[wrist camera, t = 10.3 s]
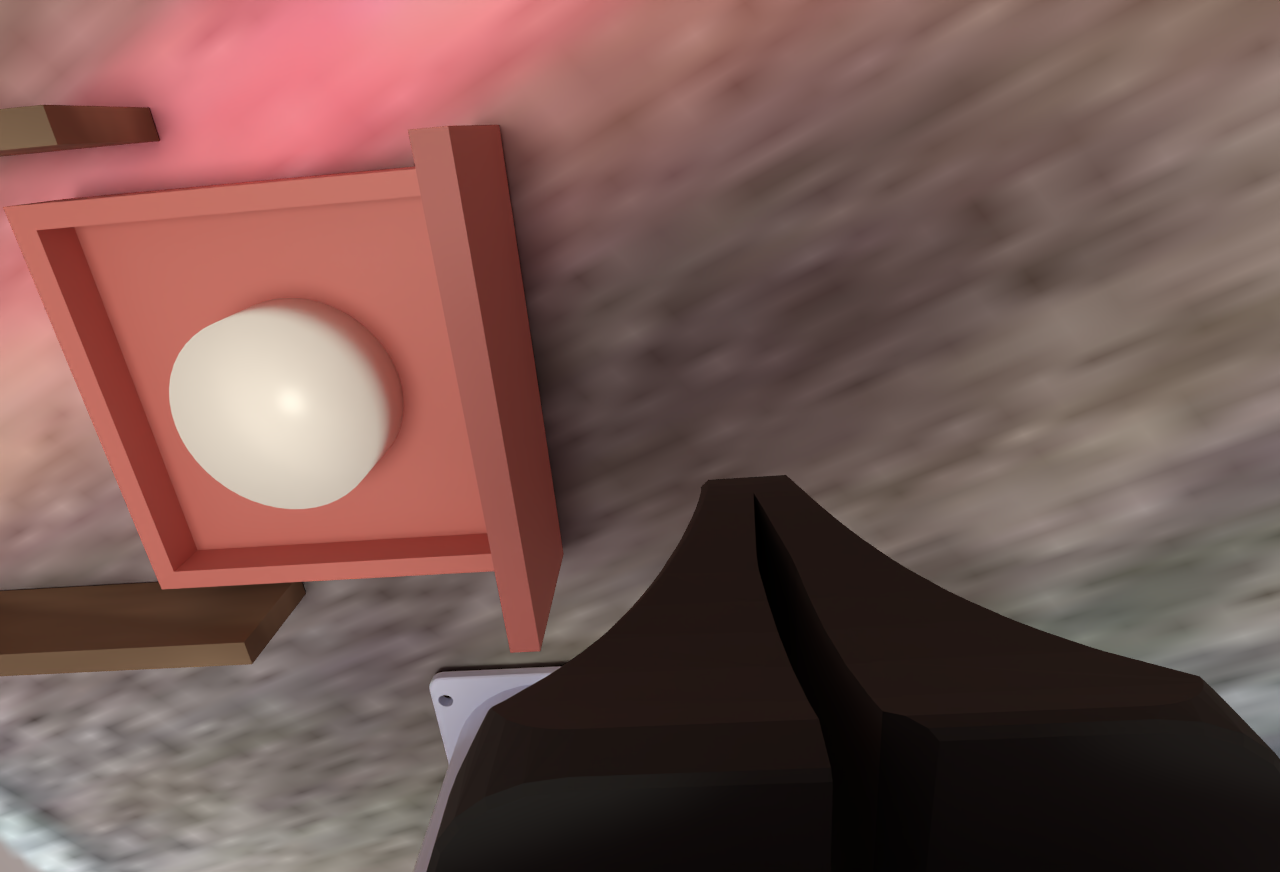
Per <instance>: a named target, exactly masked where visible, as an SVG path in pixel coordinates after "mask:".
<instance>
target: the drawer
mask: <svg viewBox="0 0 1280 872" xmlns="http://www.w3.org/2000/svg"><path fill="white" fill-rule="evenodd" d="M408 133H409V138H410V143H411V148H412V153H413V158H414V164H415V167H406V168H395V169H384V170H374V171H363V172H352V173H341V174H330V175H320V176H309V177H298V178H287V179H276V180H266V181H255V182H244V183H233V184H222V185H212V186H201V187H190V188H179V189H168V190H158V191H147V192H136V193H125V194H114V195H104V196H93V197H82V198H71V199H62V200H54V201H46V202H39V203H31V204H23V205H15V206H8V207H3V208H4V211H5V213H6V215H7V218H8V220H9V223H10V225H11V227H12V230H13V232H14V235H15V237H16V240H17V242H18V244H19V247H20V249H21V252H22V254H23V256H24V259H25V261H26V264H27V266H28V268H29V271H30V273H31V276H32V278H33V280H34V283H35V285H36V288H37V290H38V293H39V295H40V297H41V300H42V302H43V305H44V307H45V309H46V312H47V314H48V317H49V319H50V321H51V324H52V326H53V329H54V331H55V333H56V336H57V338H58V341H59V343H60V346H61V348H62V350H63V353H64V355H65V358H66V360H67V362H68V365H69V367H70V370H71V372H72V374H73V377H74V379H75V382H76V384H77V386H78V389H79V391H80V394H81V396H82V399H83V401H84V403H85V406H86V408H87V411H88V413H89V415H90V418H91V420H92V423H93V425H94V427H95V430H96V432H97V435H98V437H99V439H100V442H101V444H102V447H103V449H104V452H105V454H106V456H107V459H108V461H109V464H110V466H111V468H112V471H113V473H114V476H115V478H116V480H117V483H118V485H119V488H120V490H121V492H122V495H123V497H124V500H125V502H126V505H127V507H128V509H129V512H130V514H131V517H132V519H133V521H134V524H135V526H136V529H137V531H138V533H139V536H140V538H141V541H142V543H143V545H144V548H145V550H146V553H147V555H148V558H149V560H150V562H151V565H152V567H153V570H154V572H155V574H156V577H157V579H158V582H159V584H160V586H161V589H179V588H197V587H215V586H233V585H251V584H269V583H287V582H306V581H324V580H342V579H360V578H378V577H396V576H414V575H432V574H450V573H468V572H487V571H495V576H496V581H497V586H498V591H499V597H500V602H501V607H502V612H503V617H504V622H505V627H506V632H507V637H508V642H509V647H510V653H513V652H533V651H540V650H541V646H542V642H543V638H544V634H545V629H546V625H547V621H548V617H549V613H550V608H551V604H552V600H553V596H554V592H555V587H556V583H557V579H558V575H559V571H560V566H561V562H562V558H563V548H562V541H561V534H560V528H559V521H558V514H557V508H556V501H555V494H554V488H553V481H552V474H551V468H550V461H549V454H548V448H547V441H546V435H545V428H544V421H543V415H542V408H541V401H540V395H539V388H538V381H537V375H536V368H535V361H534V355H533V348H532V341H531V335H530V328H529V321H528V315H527V308H526V301H525V295H524V288H523V282H522V275H521V268H520V262H519V255H518V248H517V242H516V235H515V228H514V222H513V215H512V208H511V202H510V195H509V188H508V182H507V175H506V168H505V162H504V155H503V149H502V142H501V135H500V129H499V125H469V126H442V127H432V128H421V129H411V130H408ZM278 298H301V299H309V300H313V301H317V302H321V303H324V304H327V305H329V306H332V307H334V308H336V309H338V310H340V311H342V312H344V313H346V314H348V315H349V316H351V317H352V318H354V319H355V320H357V321H358V322H359V323H361V324H362V325H363V326H364V327H366V328H367V329H368V330H369V331H370V332H371V333H372V334H373V335H374V336H375V337H376V338H377V339H378V341H379V342H380V343H381V345H382V346H383V347H384V348H385V350H386V351H387V353H388V355H389V356H390V358H391V360H392V362H393V364H394V366H395V368H396V370H397V373H398V376H399V379H400V382H401V387H402V393H403V416H402V421H401V425H400V429H399V431H398V434H397V436H396V438H395V440H394V442H393V443H392V445H391V446H390V448H389V449H388V450H387V451H386V453H385V454H384V455H383V456H382V457H381V458H380V460H379V461H378V462H377V463H376V464H375V466H374V467H373V468H372V469H371V470H370V471H369V473H368V474H367V475H366V476H365V477H364V478H363V480H362V481H361V482H360V483H359V484H358V485H357V486H356V487H355V488H354V489H353V490H352V491H350V492H349V493H348V494H347V495H345V496H343V497H342V498H340V499H338V500H336V501H334V502H331V503H329V504H327V505H323V506H319V507H315V508H307V509H284V508H276V507H272V506H267V505H263V504H260V503H257V502H254V501H251V500H249V499H247V498H245V497H242V496H240V495H238V494H236V493H235V492H233V491H231V490H230V489H228V488H226V487H225V486H224V485H222V484H221V483H219V482H218V481H217V480H215V479H214V478H213V477H212V476H211V475H210V474H208V473H207V472H206V471H205V470H204V469H203V468H202V467H201V466H200V464H199V463H198V462H197V461H196V460H195V459H194V457H193V456H192V455H191V453H190V452H189V451H188V449H187V448H186V446H185V444H184V443H183V441H182V439H181V437H180V435H179V433H178V431H177V428H176V426H175V423H174V420H173V416H172V413H171V407H170V401H169V384H170V376H171V372H172V369H173V365H174V363H175V361H176V359H177V356H178V354H179V353H180V351H181V350H182V348H183V347H184V346H185V344H186V343H187V342H188V341H189V340H190V339H191V338H192V337H193V336H194V335H195V334H197V333H198V332H199V331H201V330H202V329H204V328H205V327H207V326H209V325H211V324H213V323H215V322H218V321H220V320H222V319H224V318H227V317H229V316H231V315H233V314H235V313H238V312H240V311H242V310H244V309H247V308H249V307H251V306H253V305H256V304H258V303H261V302H264V301H268V300H272V299H278Z"/></svg>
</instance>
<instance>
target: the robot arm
mask: <svg viewBox="0 0 1280 872" xmlns="http://www.w3.org/2000/svg"><path fill="white" fill-rule="evenodd" d="M429 686H430V693H431V697H432V701H433V705H434V709H435V713H436V717H437V720H438V724H439V728H440V732H441V736H442V740H443V744H444V748H445V752H446V755H447V759H448V763H449V766H448V769H447V772H446V775H445V778H444V781H443V784H442V787H441V790H440V793H439V796H438V799H437V802H436V805H435V808H434V811H433V814H432V816H431V819H430V822H429V825H428V828H427V831H426V834H425V837H424V840H423V843H422V846H421V849H420V852H419V855H418V858H417V861H416V864H415V867H414V870H413V872H1280V759H1279V758H1278V756H1277V755H1276V754H1275V753H1274V752H1273V750H1272V749H1271V748H1270V747H1269V746H1268V745H1267V744H1266V743H1265V742H1264V741H1263V740H1262V739H1261V738H1260V737H1259V736H1258V735H1257V734H1256V733H1255V732H1254V731H1253V730H1252V729H1251V728H1250V726H1249V725H1248V724H1247V723H1246V722H1245V721H1244V720H1243V719H1242V718H1241V717H1240V716H1239V715H1238V714H1237V713H1236V712H1235V711H1234V710H1233V709H1232V708H1231V707H1230V706H1229V705H1228V704H1227V703H1226V702H1225V701H1224V700H1223V699H1222V698H1221V697H1220V696H1219V695H1218V694H1217V693H1216V692H1215V690H1214V689H1212V688H1211V687H1210V686H1209V685H1208V684H1207V683H1206V682H1205V681H1204V680H1203V679H1202V678H1201V677H1200V676H1196V675H1192V674H1188V673H1184V672H1181V671H1177V670H1173V669H1169V668H1165V667H1162V666H1158V665H1154V664H1150V663H1146V662H1143V661H1139V660H1135V659H1131V658H1127V657H1124V656H1120V655H1116V654H1112V653H1108V652H1105V651H1101V650H1098V649H1095V648H1091V647H1088V646H1085V645H1082V644H1079V643H1076V642H1073V641H1070V640H1067V639H1064V638H1061V637H1059V636H1056V635H1053V634H1050V633H1047V632H1044V631H1041V630H1038V629H1035V628H1033V627H1030V626H1028V625H1025V624H1022V623H1020V622H1017V621H1014V620H1012V619H1009V618H1007V617H1004V616H1002V615H1000V614H998V613H995V612H993V611H991V610H988V609H986V608H984V607H982V606H979V605H977V604H975V603H972V602H970V601H968V600H966V599H963V598H961V597H959V596H957V595H955V594H953V593H951V592H949V591H947V590H945V589H943V588H941V587H939V586H938V585H936V584H934V583H932V582H930V581H929V580H927V579H925V578H923V577H921V576H919V575H918V574H916V573H914V572H912V571H910V570H909V569H907V568H905V567H904V566H902V565H900V564H899V563H897V562H895V561H894V560H892V559H891V558H889V557H888V556H886V555H885V554H883V553H882V552H880V551H879V550H877V549H876V548H875V547H873V546H872V545H870V544H869V543H867V542H866V541H864V540H863V539H862V538H860V537H859V536H858V535H856V534H855V533H853V532H852V531H851V530H849V529H848V528H847V527H846V526H844V525H843V524H842V523H841V522H839V521H838V520H837V519H836V518H834V517H833V516H832V515H831V514H829V513H828V512H827V511H826V510H825V509H824V508H822V507H821V506H820V505H819V504H818V503H817V502H815V501H814V500H813V499H812V498H811V497H810V496H809V495H808V494H807V493H805V492H804V491H803V490H802V489H801V488H800V487H799V486H798V485H796V484H795V483H794V482H793V481H792V480H791V479H790V478H789V477H787V476H786V475H781V476H765V477H749V478H733V479H716V480H708V481H707V482H706V483H705V484H704V485H703V486H702V487H701V495H700V498H699V502H698V504H697V507H696V510H695V512H694V514H693V517H692V519H691V521H690V523H689V525H688V527H687V529H686V531H685V533H684V535H683V537H682V539H681V540H680V542H679V544H678V546H677V547H676V549H675V550H674V552H673V554H672V555H671V557H670V558H669V560H668V561H667V563H666V564H665V566H664V568H663V569H662V571H661V572H660V573H659V575H658V576H657V577H656V579H655V580H654V581H653V583H652V584H651V585H650V587H649V588H648V589H647V590H646V592H645V593H644V594H643V595H642V596H641V597H640V599H639V600H638V601H637V602H636V603H635V604H634V606H633V607H632V608H631V609H630V610H629V611H628V612H627V613H626V614H625V615H624V616H623V617H622V618H621V619H620V620H619V621H618V622H617V623H616V624H615V625H614V626H613V627H612V628H611V629H610V630H609V631H608V632H607V633H605V634H604V635H603V636H602V637H601V638H600V639H598V640H597V641H596V642H595V643H593V644H592V645H591V646H589V647H588V648H587V649H586V650H584V651H583V652H582V653H580V654H579V655H577V656H576V657H575V658H573V659H572V660H570V661H569V662H568V663H566V664H565V665H563V666H558V667H536V668H514V669H493V670H471V671H450V672H440V673H437V674H436V675H434V677H433V678H432V680H431V683H430V685H429ZM443 695H447V696H450V697H451V699H450V698H446V697H444V696H443Z"/></svg>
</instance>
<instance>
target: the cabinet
mask: <svg viewBox="0 0 1280 872" xmlns="http://www.w3.org/2000/svg"><path fill="white" fill-rule="evenodd" d="M153 141H159V137H158V134H157V131H156V128H155V125H154V122H153V119H152V116H151V113H150V110H149V108H142V107H104V106H66V105H37V106H27V107H17V108H7V109H0V156H9V155H19V154H29V153H40V152H50V151H60V150H71V149H81V148H91V147H101V146H112V145H122V144H132V143H143V142H153ZM305 594H306V593H305V590H304V587H303V584H302V582H287V583H269V584H251V585H233V586H215V587H197V588H179V589H161V586H160V584H159V582H152V583H134V584H116V585H98V586H80V587H62V588H44V589H26V590H9V591H0V676H14V675H35V674H56V673H76V672H97V671H118V670H139V669H160V668H181V667H202V666H223V665H244V664H253V662H254V661H255V660H256V658H257V657H258V656H259V654H260V653H261V652H262V650H263V649H264V648H265V647H266V645H267V644H268V643H269V641H270V640H271V639H272V637H273V636H274V635H275V633H276V632H277V631H278V630H279V628H280V627H281V626H282V624H283V623H284V622H285V620H286V619H287V618H288V616H289V615H290V614H291V612H292V611H293V610H294V609H295V607H296V606H297V605H298V603H299V602H300V601H301V599H302V598H303V597H304V595H305Z"/></svg>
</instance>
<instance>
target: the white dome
mask: <svg viewBox="0 0 1280 872" xmlns="http://www.w3.org/2000/svg"><path fill="white" fill-rule="evenodd" d="M169 401H170V407H171V413H172V416H173V420H174V423H175V426H176V428H177V431H178V433H179V435H180V437H181V439H182V441H183V443H184V444H185V446H186V448H187V449H188V451H189V452H190V453H191V455H192V456H193V457H194V459H195V460H196V461H197V462H198V463H199V464H200V466H201V467H202V468H203V469H204V470H205V471H206V472H207V473H208V474H210V475H211V476H212V477H213V478H214V479H215V480H217V481H218V482H219V483H221V484H222V485H224V486H225V487H226V488H228V489H230V490H231V491H233V492H235V493H236V494H238V495H240V496H242V497H245V498H247V499H249V500H251V501H254V502H257V503H260V504H263V505H267V506H272V507H276V508H284V509H307V508H315V507H319V506H323V505H327V504H329V503H331V502H334V501H336V500H338V499H340V498H342V497H343V496H345V495H347V494H348V493H349V492H350V491H352V490H353V489H354V488H355V487H356V486H357V485H358V484H359V483H360V482H361V481H362V480H363V478H364V477H365V476H366V475H367V474H368V473H369V471H370V470H371V469H372V468H373V467H374V466H375V464H376V463H377V462H378V461H379V460H380V458H381V457H382V456H383V455H384V454H385V453H386V451H387V450H388V449H389V448H390V446H391V445H392V443H393V442H394V440H395V438H396V436H397V434H398V431H399V429H400V425H401V421H402V416H403V393H402V387H401V382H400V379H399V376H398V373H397V370H396V368H395V366H394V364H393V362H392V360H391V358H390V356H389V355H388V353H387V351H386V350H385V348H384V347H383V346H382V345H381V343H380V342H379V341H378V339H377V338H376V337H375V336H374V335H373V334H372V333H371V332H370V331H369V330H368V329H367V328H366V327H364V326H363V325H362V324H361V323H359V322H358V321H357V320H355V319H354V318H352V317H351V316H349V315H348V314H346V313H344V312H342V311H340V310H338V309H336V308H334V307H332V306H329V305H327V304H324V303H321V302H317V301H313V300H309V299H301V298H278V299H272V300H268V301H264V302H261V303H258V304H256V305H253V306H251V307H249V308H247V309H244V310H242V311H240V312H238V313H235V314H233V315H231V316H229V317H227V318H224V319H222V320H220V321H218V322H215V323H213V324H211V325H209V326H207V327H205V328H204V329H202V330H201V331H199V332H198V333H197V334H195V335H194V336H193V337H192V338H191V339H190V340H189V341H188V342H187V343H186V344H185V346H184V347H183V348H182V350H181V351H180V353H179V354H178V356H177V359H176V361H175V363H174V365H173V369H172V372H171V376H170V384H169Z"/></svg>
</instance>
